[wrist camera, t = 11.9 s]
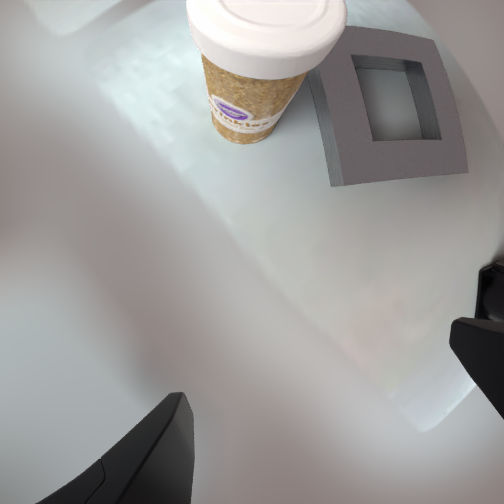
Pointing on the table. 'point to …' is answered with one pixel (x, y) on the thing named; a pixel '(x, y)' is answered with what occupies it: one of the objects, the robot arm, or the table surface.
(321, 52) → the sprinkles bottle
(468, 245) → the table surface
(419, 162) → the metal collar
